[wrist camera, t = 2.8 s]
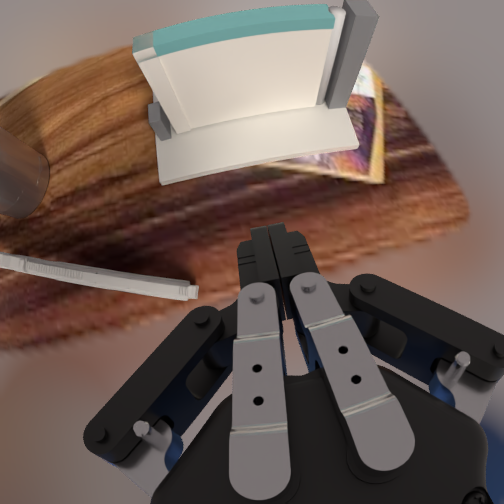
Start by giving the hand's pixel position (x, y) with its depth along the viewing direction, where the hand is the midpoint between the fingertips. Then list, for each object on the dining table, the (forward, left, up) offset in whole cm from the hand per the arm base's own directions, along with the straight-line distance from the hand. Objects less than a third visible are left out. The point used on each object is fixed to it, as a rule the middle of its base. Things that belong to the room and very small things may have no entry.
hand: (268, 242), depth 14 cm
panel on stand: (+1, +18, -16) cm, 24 cm away
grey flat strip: (-21, +3, -16) cm, 27 cm away
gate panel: (+2, +17, -15) cm, 22 cm away
